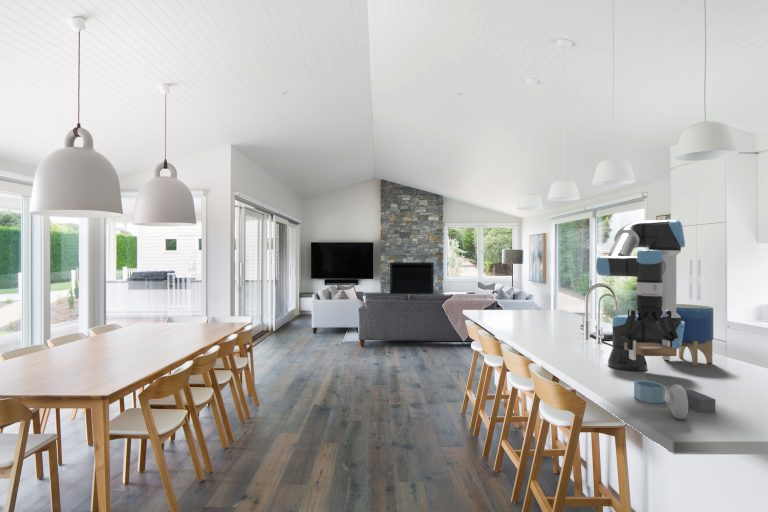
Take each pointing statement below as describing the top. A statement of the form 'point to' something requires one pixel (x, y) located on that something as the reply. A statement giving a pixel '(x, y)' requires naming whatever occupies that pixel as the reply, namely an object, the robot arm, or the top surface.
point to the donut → (678, 401)
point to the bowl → (649, 391)
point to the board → (653, 349)
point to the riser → (700, 402)
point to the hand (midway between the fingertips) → (649, 359)
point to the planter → (696, 330)
